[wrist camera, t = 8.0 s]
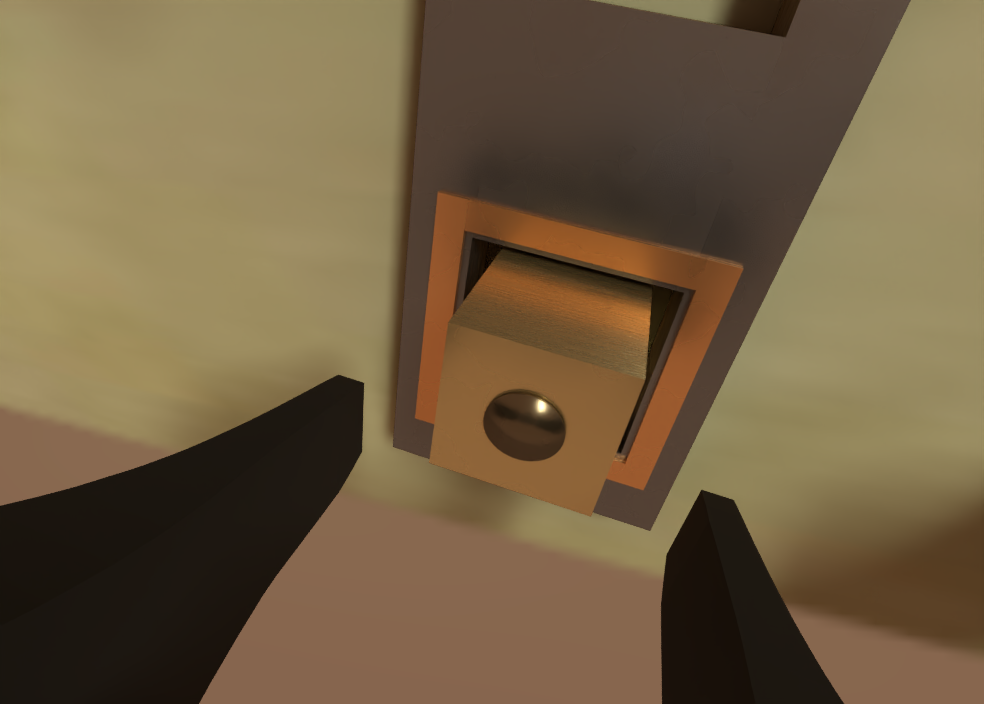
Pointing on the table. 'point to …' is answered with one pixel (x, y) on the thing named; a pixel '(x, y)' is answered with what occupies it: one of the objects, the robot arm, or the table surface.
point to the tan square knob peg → (542, 377)
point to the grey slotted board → (625, 182)
